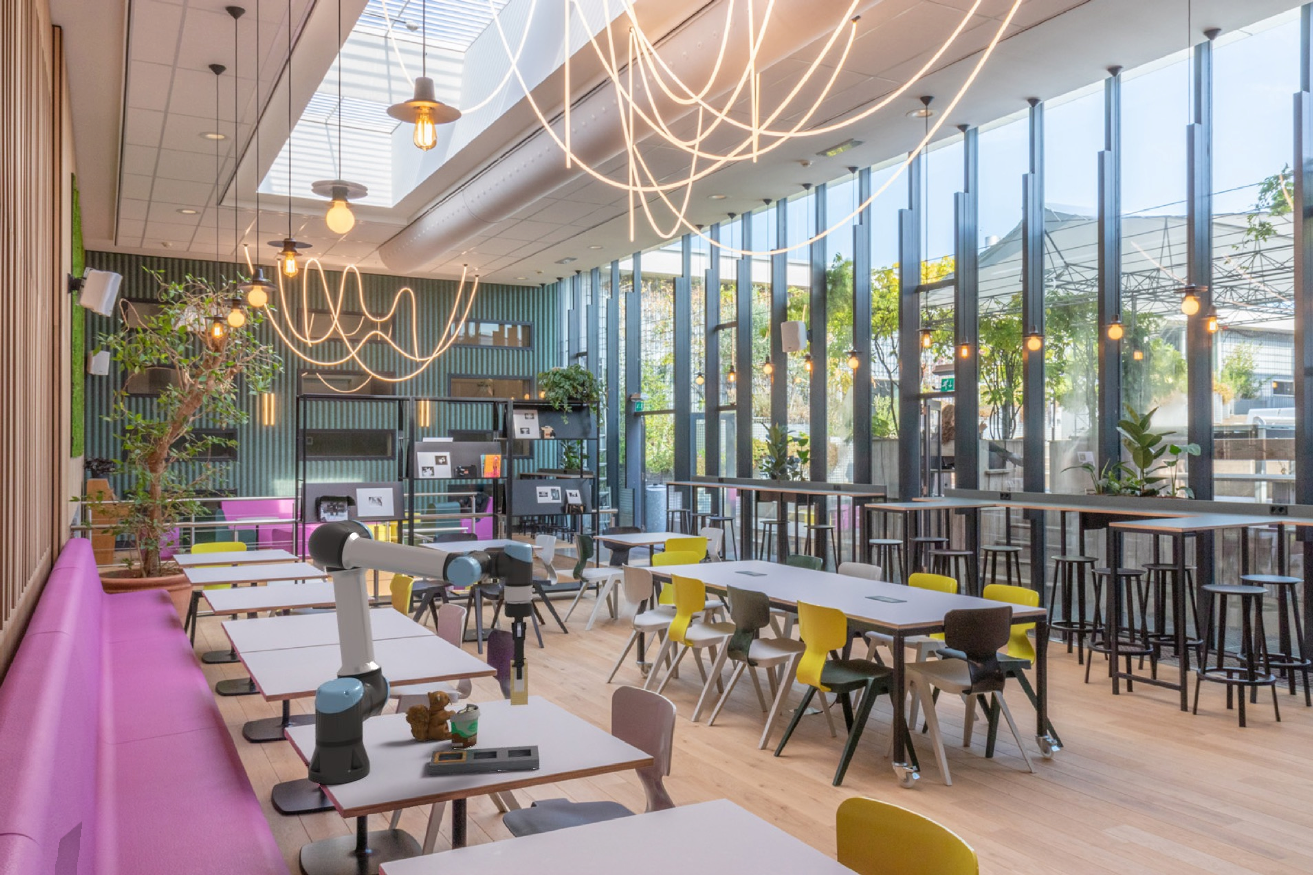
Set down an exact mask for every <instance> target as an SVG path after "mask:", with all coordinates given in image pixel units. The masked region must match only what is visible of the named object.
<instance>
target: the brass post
mask: <svg viewBox="0 0 1313 875" xmlns="http://www.w3.org/2000/svg"><path fill="white" fill-rule="evenodd" d="M509 661H510V706H523V705H524V706H525V705H526V706H527V705H529V693H528V692H529V688H528V687H529V684H528V683H529V674H528V672H529V671H528V670H529V667H528V666H529V665H528V663H529V662H528V658H526V659H524V663H525V664H524V691H522V692H514V667H512V665H514V663H515V660H514V659H510V660H509Z"/></svg>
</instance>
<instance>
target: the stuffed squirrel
mask: <svg viewBox="0 0 1313 875" xmlns="http://www.w3.org/2000/svg"><path fill="white" fill-rule="evenodd" d="M426 694H427V697H428V702H429V708H428V707H427V706H425V705H424V704H418V705H415V706H414V705H413V706H410V707H409V708H408V710H407V711H405V712H404V714H405V715H406V716H405V721H406V722H407V723H408V724H409V725H410V728H411V729H410V733H411V734H412V738H414V739H415V740H417V741H419V742H426V741H428V739H429V740H432V739H433V741H446V740H445V739H448V740H452V736H451V731H450V728H449V723H448V721H450V716H451V714H456V713H457V712H456V711H455V710H453V709H451V710H447V709H445V708H446V707H447V706H449V703H450V705H451V706H452V705H453V702H452V700H451V698H450V695H449V694H448V693H446V692H445V691H443V690H435V691H433V692H431V691H428V692H427V693H426Z"/></svg>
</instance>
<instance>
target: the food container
mask: <svg viewBox="0 0 1313 875" xmlns="http://www.w3.org/2000/svg"><path fill="white" fill-rule="evenodd" d="M481 715H482V714H481V710H480V708H479V705H477V704H473V703H466V707H464V708H463V709H460V710H458V711H457V712H456V714H451V716H450V720H449V722H450V732H451V736H452V739H451V750H455V749H454V748H463V749H467V748H468V747H469V748H471V747H470V746H472V747H474V746H476V745H477V743H478V742H477V741H478V740H477V739H478V726H479V725H478V724H479V718H480V716H481ZM475 744H476V745H475ZM469 748H468V749H469Z"/></svg>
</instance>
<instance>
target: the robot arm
mask: <svg viewBox="0 0 1313 875" xmlns="http://www.w3.org/2000/svg"><path fill="white" fill-rule="evenodd" d="M307 540H308V541H307V550H308V553H309V556H310V557H311V559H312V560H313V562H315V563H316V564H319V566H323V567H325V572H326V574H327V575H328V576H329V577H331V578H332V584H333V593H334V601H335V612H336V622H337V629H338V630H337V631H338V639H339V649H340V660H341V666H340V667H339V669H338V670H337V672H336V678H335V679H333V680H328V681H325V682H323V683H321V685H319V686H318V687H317V689H316V691H315V698H314V711H315V713H314V714H315V716H314V718H315V720H314V721H315V724H314V725H315V728H314V729H315V734H314V736H315V746H314V750H313V753H312V756H311V759H310V762H309V765H308V769H307V774H308V775H307V779H308V780H309V781H310V782H312V783H315V784H320V783H321V784H320V785H335V784H336V785H338V784H344V783H350V782H354V781H357V780H360V779H363V778H364V777H366V776H368V775H369V773H371V763H370V759H369V757H368V756H369V755H368V753H367V752H368V751H367V750H366V746H365V745H364V722H366V721H367V720H369V719H370V718H372V717H375V716H376V715H377V714H379V713H380V712H381V710H382V709H383V708H384V707H386V705H387V703H388V701H389V699H390V695H391V684H390V681H389V680H388V678H387V677H386V676H385V675H384V673H383V671H382V664H381V663H379V662H378V661H377V660H376V658H375V651H374V640H373V633H372V632H373V631H372V624H371V613H370V612H371V611H370V603H369V594H368V586H367V577H366V576H367V575H366V574H367V571H369V570H374V571H375V570H376V571H381V572H387V573H394V574H399V575H406V576H411V577H417V578H422V579H423V578H424V579H429V580H435V581H439V582H440V581H441V582H447V583H449V584H450V583H451V584H452V585H454V587H455V586H456V587H459V588H466V587H470V586H472V585H475V583H478V582H481V581H483V580H501V579H502V580H503V579H504V580H503V581H504V586H503V587H504V588H503V589H504V590H503V591H504V593H503V594H504V598H503V599H504V601H505V603H504V616H505V617H506V618H514V621H513V622H511V631H512V632H511V633H512V635H511V636H512V641H513V644H514V645H513V649H514V650H513V660H515V663H514V665H512V667H514V692H522V691H524V664H525V663H524V659H527V658H526V657H525V641H526V631H527V621H524V618H529V617H531V616H533V615H534V603H533V601H532V600H533V598H534V596H533V593H535V591H536V588H535V587H533V584H534V583H533V575H534V574H533V573H534V572H533V571H534V570H533V568H534V567H533V566H534V559H533V547H532V545H531V544H530V543H527V542H510V543H506V544H504V546H503V550H475V549H474V550H464V551H462V553H456V552H450V551H443V550H440V549H439V550H438V549H433V548H432V549H431V548H426V547H420V546H414V545H408V544H404V543H395V542H390V541H383V540H377V539H375V537H374V534H373V532H372V530H371V529H370V528H369V526H368V525H366V524H365V523H363V522H362V521H359V520H354V519H344V520H339V521H334V522H325V523H323V524H320V525H319V526H318V527H316V528H315V529H314V530H313V531H312V532H311V534H310V536H309V537H308V539H307ZM319 782H320V783H319Z"/></svg>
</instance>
